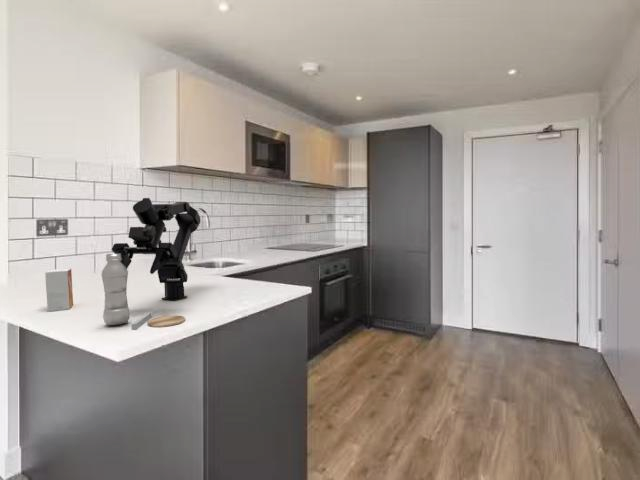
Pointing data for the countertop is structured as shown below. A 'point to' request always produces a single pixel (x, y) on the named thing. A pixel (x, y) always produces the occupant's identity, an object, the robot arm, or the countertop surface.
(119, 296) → the plastic bottle
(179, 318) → the coaster
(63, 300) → the small box
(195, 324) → the countertop surface
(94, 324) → the countertop surface
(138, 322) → the sill
